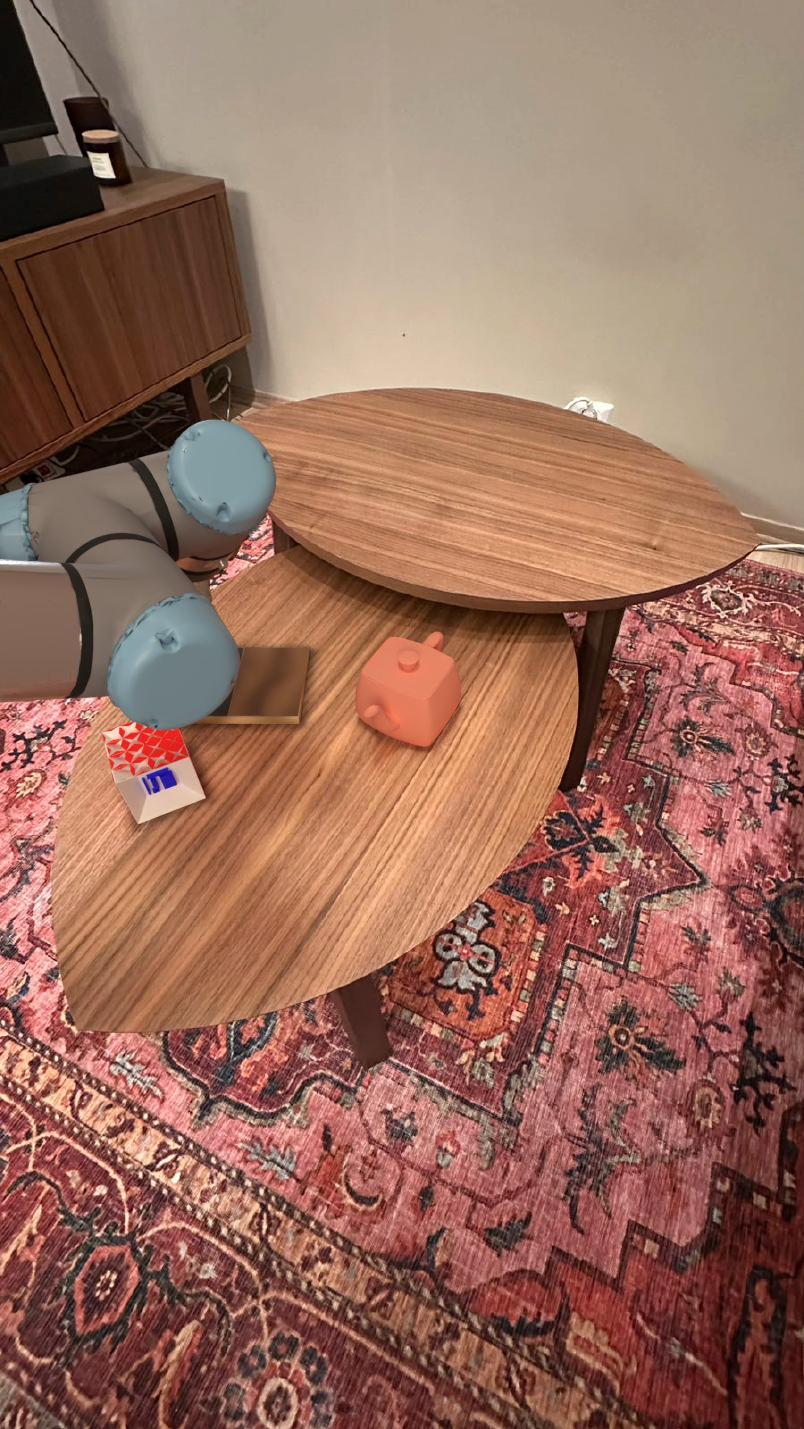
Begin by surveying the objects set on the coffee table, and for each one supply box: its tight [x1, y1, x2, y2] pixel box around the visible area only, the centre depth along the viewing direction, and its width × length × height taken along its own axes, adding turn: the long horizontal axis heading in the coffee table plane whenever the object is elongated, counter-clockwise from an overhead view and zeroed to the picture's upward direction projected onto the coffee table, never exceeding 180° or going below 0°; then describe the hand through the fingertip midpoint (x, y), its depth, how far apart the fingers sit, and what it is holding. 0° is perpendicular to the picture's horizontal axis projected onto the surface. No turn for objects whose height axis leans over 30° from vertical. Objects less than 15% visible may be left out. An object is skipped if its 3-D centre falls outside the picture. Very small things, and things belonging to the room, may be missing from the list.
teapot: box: [355, 631, 462, 748], centre depth 83 cm, size 12×18×10 cm, turn 150°
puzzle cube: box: [100, 721, 207, 825], centre depth 78 cm, size 8×8×8 cm
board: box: [192, 646, 311, 725], centre depth 91 cm, size 18×13×1 cm
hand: (163, 588), depth 81 cm, fingers closed on stone, 7 cm apart
